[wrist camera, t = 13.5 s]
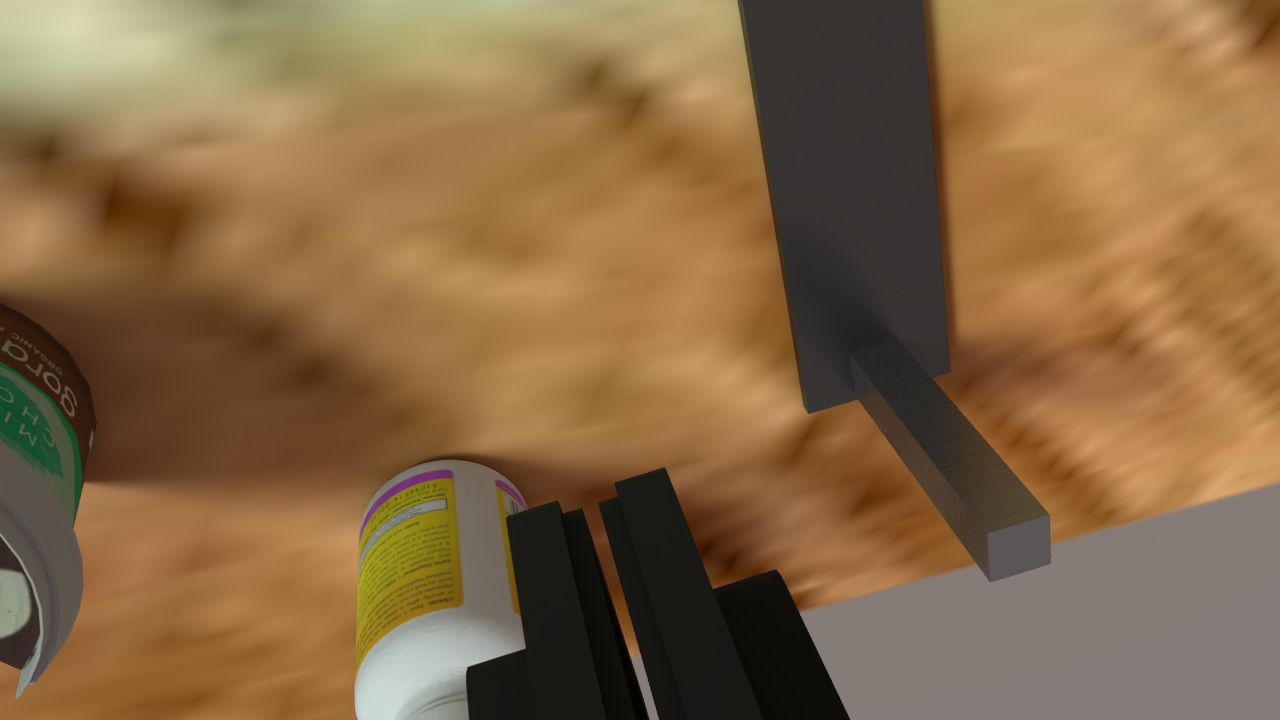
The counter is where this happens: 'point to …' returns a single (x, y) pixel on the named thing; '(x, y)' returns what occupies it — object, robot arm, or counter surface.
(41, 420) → the food container
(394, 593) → the supplement bottle
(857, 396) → the gate frame
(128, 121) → the counter surface
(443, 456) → the counter surface
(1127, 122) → the counter surface
